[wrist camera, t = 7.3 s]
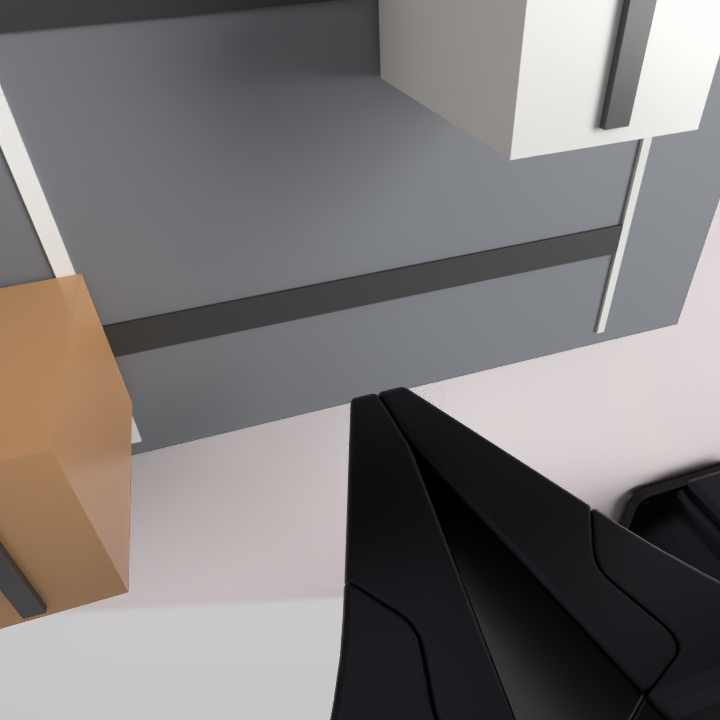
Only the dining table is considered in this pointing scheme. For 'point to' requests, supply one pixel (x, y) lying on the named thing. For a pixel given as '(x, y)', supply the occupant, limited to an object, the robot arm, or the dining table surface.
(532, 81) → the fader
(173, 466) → the dining table surface
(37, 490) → the block
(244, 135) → the console
